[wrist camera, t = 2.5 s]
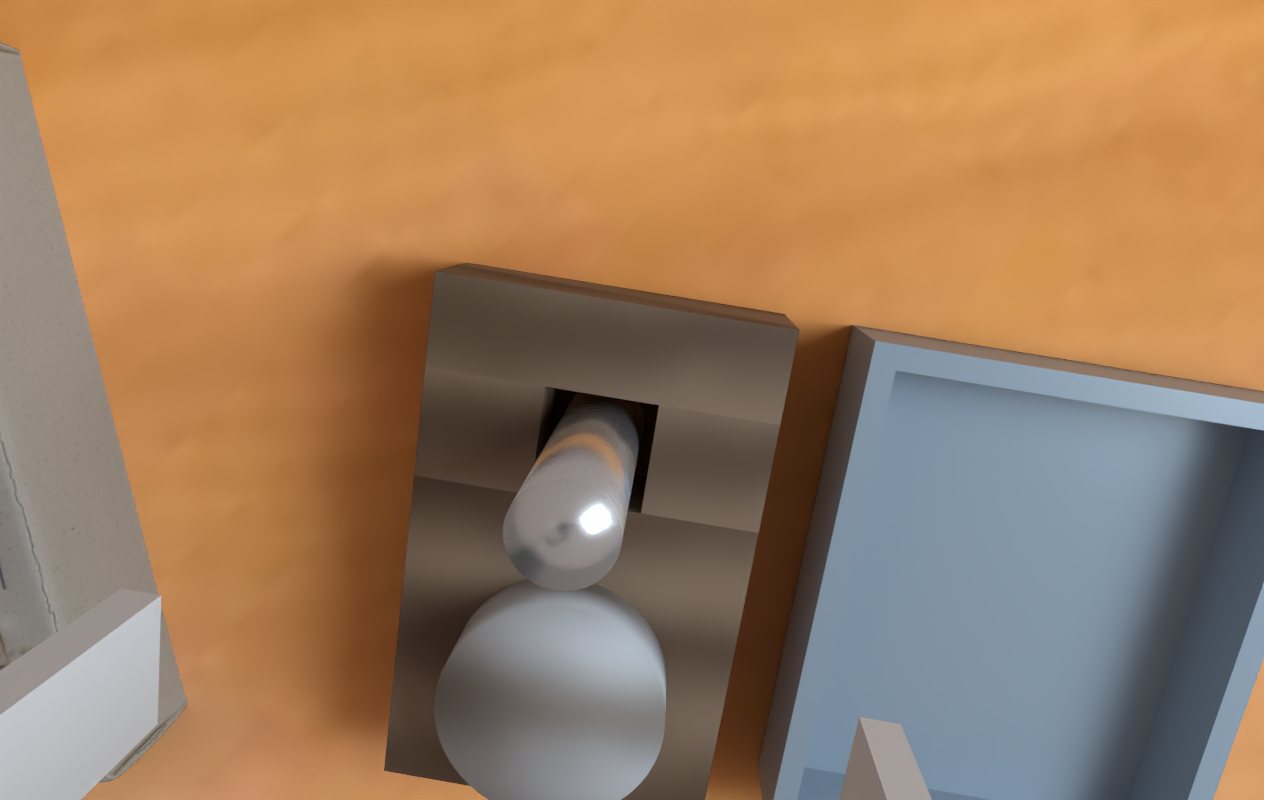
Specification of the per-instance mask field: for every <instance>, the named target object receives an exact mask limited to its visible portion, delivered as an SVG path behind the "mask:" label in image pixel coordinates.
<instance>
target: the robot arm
mask: <svg viewBox="0 0 1264 800" xmlns="http://www.w3.org/2000/svg"><path fill="white" fill-rule="evenodd" d="M160 621H161V595H157V594H151V593H145V592H139V591H134V590H128V589H122V588H121V589H120V590H118V591H117V592H115V593H114V594H112V595H111V596H109V597H108V598H107V599H105V600H104V601H102V602H101V603H99V604H98V605H96V606H95V607H93V608H92V609H90V610H89V611H87V612H86V613H84V614H83V615H81V616H80V617H79V618H77V619H76V620H74V621H73V622H71V623H70V624H68V625H67V626H65V627H64V628H62V629H61V630H59V631H58V632H56V633H55V634H54V635H52V636H51V637H49V638H48V639H46V640H45V641H43V642H42V643H40V644H39V645H37V646H36V647H34V648H33V649H31V650H30V651H28V652H27V653H26V654H24V655H23V656H21V657H20V658H18V659H17V660H15V661H14V662H12V663H11V664H9V665H8V666H6V667H5V668H3V669H2V670H0V800H81V799H82V798H83V797H84V796H85V795H86V794H87V793H88V792H89V791H90V790H91V789H92V788H93V787H94V786H95V785H96V784H97V783H98V782H99V781H100V780H101V779H102V778H103V777H104V776H105V775H106V774H107V773H108V772H109V771H110V770H111V769H112V768H113V767H115V766H116V765H117V764H118V763H119V762H120V761H121V760H122V759H123V758H124V757H125V756H126V755H127V754H128V753H129V752H130V751H131V750H132V749H133V748H134V747H135V746H136V745H137V744H138V743H139V742H140V741H141V740H142V739H143V738H144V737H145V736H146V735H147V734H148V733H149V732H150V731H151V730H152V729H153V728H154V727H155V726H156V725H157V724H158V691H159V656H160ZM839 800H932V799H931V796H930V794H929V791H928V789H927V787H926V784H925V782H924V779H923V777H922V774H921V772H920V770H919V767H918V765H917V762H916V760H915V757H914V755H913V752H912V750H911V748H910V745H909V743H908V740H907V738H906V735H905V733H904V731H903V728H902V726H901V724H898V723H892V722H886V721H880V720H875V719H869V718H863V717H859V720H858V724H857V728H856V732H855V736H854V740H853V744H852V748H851V752H850V756H849V760H848V765H847V769H846V773H845V777H844V781H843V785H842V789H841V793H840V797H839Z"/></svg>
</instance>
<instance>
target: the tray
mask: <svg viewBox="0 0 1264 800" xmlns="http://www.w3.org/2000/svg"><path fill="white" fill-rule="evenodd" d="M1263 658H1264V392H1263V391H1257V390H1251V389H1244V388H1238V387H1232V386H1226V385H1220V384H1213V383H1207V382H1201V381H1195V380H1189V379H1183V378H1176V377H1170V376H1164V375H1158V374H1152V373H1145V372H1139V371H1133V370H1127V369H1121V368H1114V367H1108V366H1102V365H1096V364H1090V363H1084V362H1077V361H1071V360H1065V359H1059V358H1053V357H1046V356H1040V355H1034V354H1028V353H1022V352H1016V351H1009V350H1003V349H997V348H991V347H985V346H978V345H972V344H966V343H960V342H954V341H948V340H941V339H935V338H929V337H923V336H917V335H910V334H904V333H898V332H892V331H886V330H879V329H873V328H867V327H861V326H855V325H853V327H852V331H851V336H850V340H849V345H848V350H847V354H846V359H845V364H844V368H843V373H842V378H841V382H840V387H839V392H838V396H837V401H836V405H835V410H834V415H833V419H832V424H831V429H830V433H829V438H828V443H827V447H826V452H825V457H824V461H823V466H822V470H821V475H820V480H819V484H818V489H817V494H816V498H815V503H814V508H813V512H812V517H811V522H810V526H809V531H808V535H807V540H806V545H805V549H804V554H803V559H802V563H801V568H800V573H799V577H798V582H797V587H796V591H795V596H794V600H793V605H792V610H791V614H790V619H789V624H788V628H787V633H786V638H785V642H784V647H783V652H782V656H781V661H780V665H779V670H778V675H777V679H776V684H775V689H774V693H773V698H772V703H771V707H770V712H769V716H768V721H767V726H766V730H765V735H764V740H763V744H762V749H761V754H760V758H759V763H758V768H759V776H760V783H761V791H762V798H763V800H839V797H840V793H841V789H842V785H843V781H844V777H845V773H846V769H847V765H848V760H849V756H850V752H851V748H852V744H853V740H854V736H855V732H856V728H857V724H858V720H859V717H863V718H869V719H875V720H880V721H886V722H892V723H898V724H901V726H902V728H903V731H904V733H905V735H906V738H907V740H908V743H909V745H910V748H911V750H912V752H913V755H914V757H915V760H916V762H917V765H918V767H919V770H920V772H921V774H922V777H923V779H924V782H925V784H926V787H927V789H928V791H929V794H930V796H931V799H932V800H1213V798H1214V795H1215V792H1216V790H1217V787H1218V784H1219V781H1220V778H1221V776H1222V773H1223V770H1224V767H1225V764H1226V762H1227V759H1228V756H1229V753H1230V750H1231V748H1232V745H1233V742H1234V739H1235V736H1236V734H1237V731H1238V728H1239V725H1240V722H1241V720H1242V717H1243V714H1244V711H1245V708H1246V706H1247V703H1248V700H1249V697H1250V694H1251V692H1252V689H1253V686H1254V683H1255V681H1256V678H1257V675H1258V672H1259V669H1260V667H1261V664H1262V661H1263Z"/></svg>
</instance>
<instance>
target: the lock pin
mask: <svg viewBox="0 0 1264 800" xmlns="http://www.w3.org/2000/svg"><path fill="white" fill-rule="evenodd" d="M643 424H644V417H643V411H642V408H641V406H640V403H639V402H636V401H630V400H624V399H618V398H612V397H606V396H600V395H594V394H588V393H582V392H578V393H577V394H576V395H575V396H574V398H573V399H572V400H571V402H570V404H569V406H568V407H567V409H566V411H565V413H564V414H563V416H562V418H561V419H560V421H559V423H558V425H557V426H556V428H555V430H554V431H553V433H552V435H551V437H550V438H549V440H548V442H547V443H546V445H545V447H544V449H543V450H542V452H541V454H540V455H539V457H538V459H537V461H536V462H535V464H534V466H533V468H532V469H531V471H530V473H529V474H528V476H527V478H526V480H525V481H524V483H523V485H522V486H521V488H520V490H519V492H518V493H517V495H516V497H515V498H514V500H513V502H512V504H511V505H510V507H509V509H508V511H507V514H506V517H505V520H504V525H503V541H504V545H505V549H506V552H507V554H508V556H509V558H510V560H511V562H512V563H513V565H514V566H515V568H516V569H517V570H518V571H519V572H520V573H521V574H522V575H523V576H524V577H525V578H527V579H528V580H530V581H531V582H533V583H535V584H537V585H539V586H541V587H544V588H546V589H550V590H555V591H574V590H579V589H583V588H586V587H588V586H591V585H593V584H594V583H596V582H598V581H599V580H601V579H602V578H603V577H604V576H605V575H606V574H607V573H608V572H609V571H610V570H611V569H612V567H613V566H614V564H615V562H616V560H617V558H618V556H619V553H620V549H621V544H622V539H623V534H624V528H625V523H626V517H627V512H628V506H629V501H630V496H631V490H632V485H633V479H634V474H635V468H636V463H637V457H638V452H639V447H640V441H641V436H642V430H643Z"/></svg>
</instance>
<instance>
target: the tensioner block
mask: <svg viewBox="0 0 1264 800" xmlns="http://www.w3.org/2000/svg"><path fill="white" fill-rule="evenodd" d="M798 335H799V329H798V328H797V327H796V326H795V325H794V324H793V323H792V322H791V321H790V320H789V319H788V318H787V317H786V315H785V314H781V313H774V312H768V311H762V310H756V309H750V308H743V307H737V306H731V305H725V304H719V303H713V302H706V301H700V300H694V299H688V298H682V297H675V296H669V295H663V294H657V293H651V292H645V291H638V290H632V289H626V288H620V287H614V286H607V285H601V284H595V283H589V282H583V281H576V280H570V279H564V278H558V277H552V276H546V275H539V274H533V273H527V272H521V271H515V270H508V269H502V268H496V267H490V266H484V265H478V264H471V263H465V264H461V265H457V266H453V267H449V268H445V269H441V270H437V271H435V276H434V286H433V296H432V306H431V316H430V325H429V335H428V345H427V355H426V365H425V375H424V384H423V394H422V404H421V414H420V424H419V434H418V443H417V453H416V463H415V473H414V483H413V493H412V502H411V512H410V522H409V532H408V542H407V552H406V561H405V571H404V581H403V591H402V601H401V611H400V620H399V630H398V640H397V650H396V660H395V670H394V679H393V689H392V699H391V709H390V719H389V729H388V738H387V748H386V758H385V768H384V771H389V772H395V773H401V774H406V775H412V776H418V777H423V778H429V779H435V780H441V781H446V782H452V783H458V784H463V785H469V786H471V787H472V788H474V789H475V790H476V791H477V792H479V793H480V794H481V795H483V796H484V797H486V798H487V799H489V800H705V797H706V792H707V787H708V782H709V777H710V772H711V767H712V762H713V757H714V752H715V747H716V742H717V737H718V732H719V727H720V722H721V717H722V712H723V707H724V702H725V697H726V692H727V687H728V683H729V678H730V673H731V668H732V663H733V658H734V653H735V648H736V643H737V638H738V633H739V628H740V623H741V618H742V613H743V608H744V603H745V598H746V593H747V588H748V583H749V578H750V573H751V568H752V563H753V558H754V553H755V548H756V543H757V539H758V534H759V529H760V524H761V519H762V514H763V509H764V504H765V499H766V494H767V489H768V484H769V479H770V474H771V469H772V464H773V459H774V454H775V449H776V444H777V439H778V434H779V429H780V424H781V419H782V414H783V409H784V404H785V399H786V394H787V390H788V385H789V380H790V375H791V370H792V365H793V360H794V355H795V350H796V345H797V340H798ZM559 389H564V390H570V391H576V392H582V393H588V394H594V395H600V396H606V397H612V398H618V399H624V400H630V401H636V402H643V403H649V404H655V405H658V408H657V414H656V420H655V426H654V432H653V438H652V444H651V450H650V456H649V462H648V468H647V474H646V475H642V474H636V473H635V474H634V479H633V485H632V490H631V496H630V501H629V506H628V512H627V517H626V523H625V528H624V534H623V539H622V544H621V549H620V553H619V556H618V558H617V560H616V562H615V564H614V566H613V567H612V569H611V570H610V571H609V572H608V573H607V574H606V575H605V576H604V577H603V578H602V579H601V580H599V581H598V582H596V583H594V584H593V585H591V586H588V587H586V588H583V589H579V590H574V591H555V590H550V589H546V588H544V587H541V586H539V585H537V584H535V583H533V582H531V581H530V580H528V579H527V578H525V577H524V576H523V575H522V574H521V573H520V572H519V571H518V570H517V569H516V568H515V566H514V565H513V563H512V562H511V560H510V558H509V556H508V554H507V552H506V549H505V545H504V541H503V525H504V520H505V517H506V514H507V511H508V509H509V507H510V505H511V504H512V502H513V500H514V498H515V497H516V495H517V493H518V492H519V490H520V488H521V486H522V485H523V483H524V481H525V480H526V478H527V476H528V474H529V473H530V471H531V469H532V468H533V466H534V464H535V462H536V461H537V459H538V457H539V455H540V454H541V452H542V450H543V449H544V447H545V445H546V443H547V442H548V440H549V438H550V437H551V435H552V433H553V430H554V422H555V415H556V408H557V401H558V394H559Z"/></svg>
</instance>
